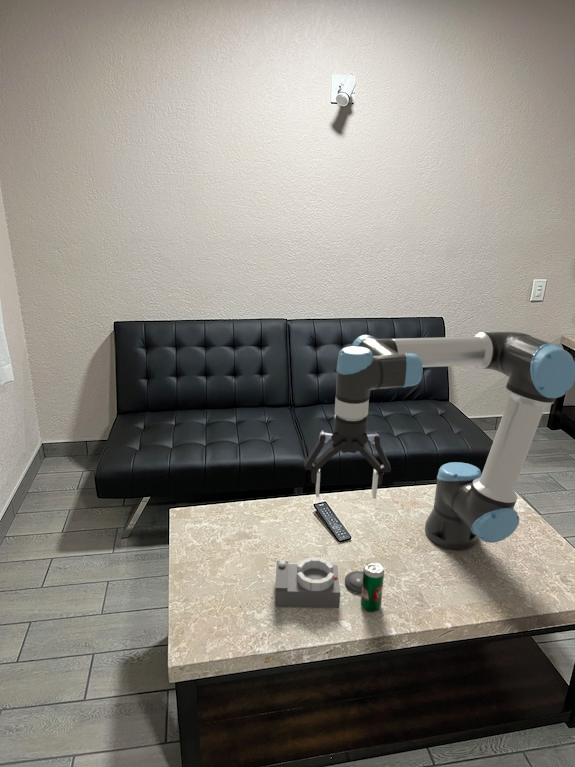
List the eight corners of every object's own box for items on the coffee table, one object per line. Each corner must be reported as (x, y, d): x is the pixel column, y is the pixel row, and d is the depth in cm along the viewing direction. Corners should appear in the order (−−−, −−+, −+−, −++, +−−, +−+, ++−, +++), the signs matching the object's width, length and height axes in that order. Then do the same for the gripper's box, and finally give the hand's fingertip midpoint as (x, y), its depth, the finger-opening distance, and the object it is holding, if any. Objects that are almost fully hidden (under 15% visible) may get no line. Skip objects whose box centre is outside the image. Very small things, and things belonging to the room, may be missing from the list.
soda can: (358, 599, 137) (361, 561, 133) (378, 598, 137) (381, 560, 133) (362, 614, 132) (366, 575, 128) (383, 613, 133) (386, 574, 128)
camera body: (336, 580, 143) (337, 557, 141) (339, 608, 134) (340, 584, 131) (276, 578, 143) (276, 556, 141) (275, 606, 134) (275, 583, 131)
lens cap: (371, 573, 146) (371, 570, 145) (375, 594, 139) (375, 590, 138) (343, 573, 146) (343, 569, 145) (346, 593, 139) (346, 590, 138)
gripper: (403, 409, 125) (394, 488, 133) (296, 406, 125) (294, 484, 133) (409, 423, 118) (400, 505, 126) (295, 419, 118) (293, 501, 126)
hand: (345, 494), depth 129 cm, fingers open, 13 cm apart
